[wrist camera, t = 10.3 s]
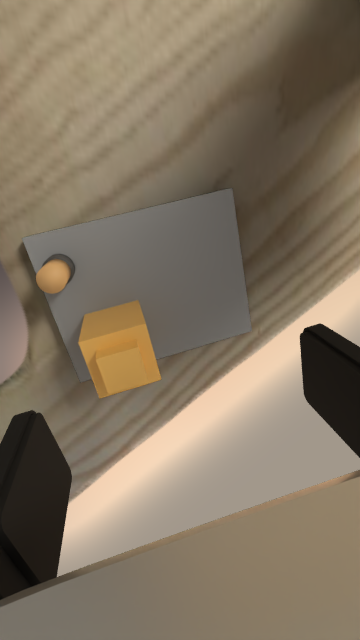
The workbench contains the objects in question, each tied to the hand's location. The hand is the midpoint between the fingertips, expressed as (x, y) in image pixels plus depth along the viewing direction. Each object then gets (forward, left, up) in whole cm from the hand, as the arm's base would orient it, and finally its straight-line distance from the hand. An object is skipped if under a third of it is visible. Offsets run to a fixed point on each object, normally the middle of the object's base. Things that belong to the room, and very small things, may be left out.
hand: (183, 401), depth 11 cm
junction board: (-1, +1, -20) cm, 20 cm away
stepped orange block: (+3, +4, -19) cm, 19 cm away
